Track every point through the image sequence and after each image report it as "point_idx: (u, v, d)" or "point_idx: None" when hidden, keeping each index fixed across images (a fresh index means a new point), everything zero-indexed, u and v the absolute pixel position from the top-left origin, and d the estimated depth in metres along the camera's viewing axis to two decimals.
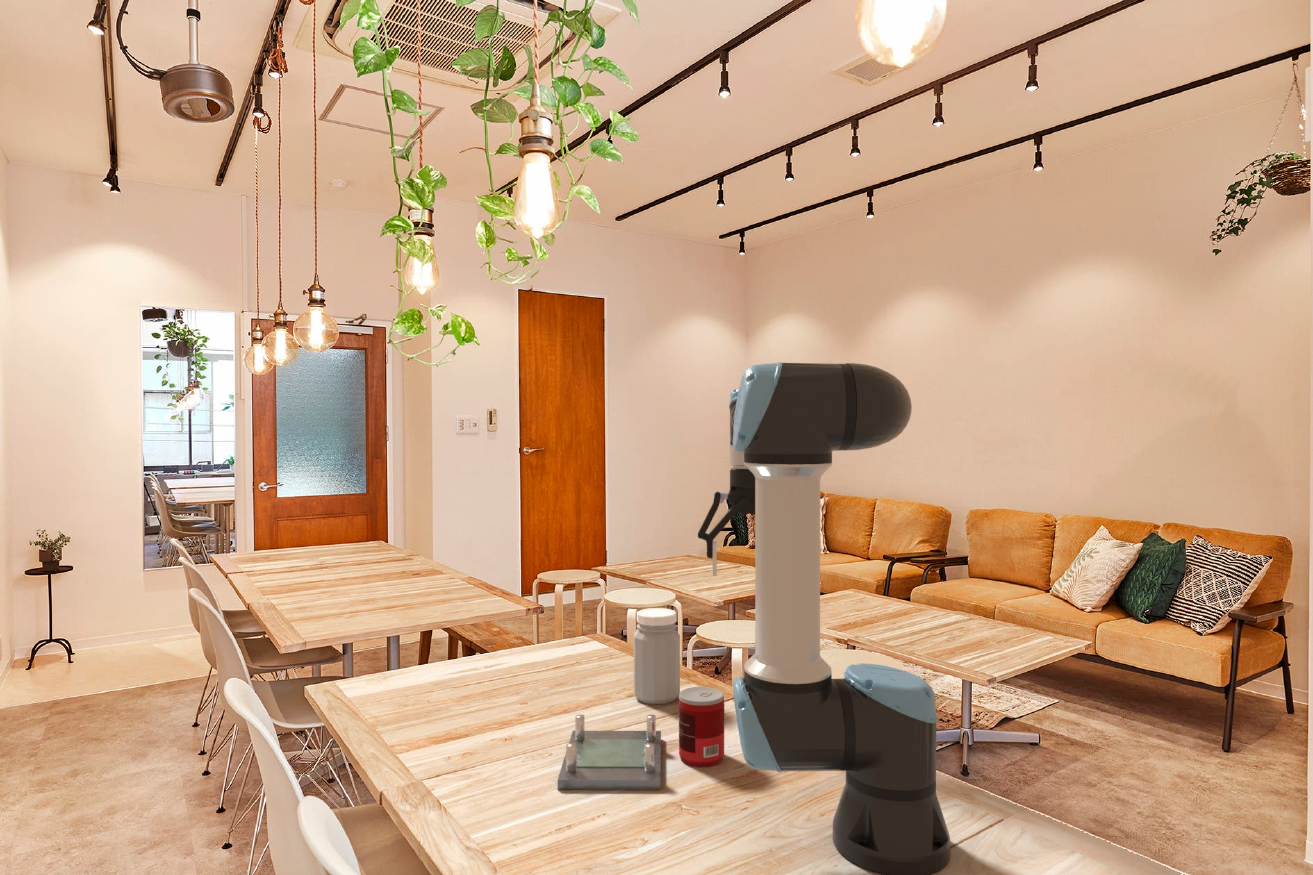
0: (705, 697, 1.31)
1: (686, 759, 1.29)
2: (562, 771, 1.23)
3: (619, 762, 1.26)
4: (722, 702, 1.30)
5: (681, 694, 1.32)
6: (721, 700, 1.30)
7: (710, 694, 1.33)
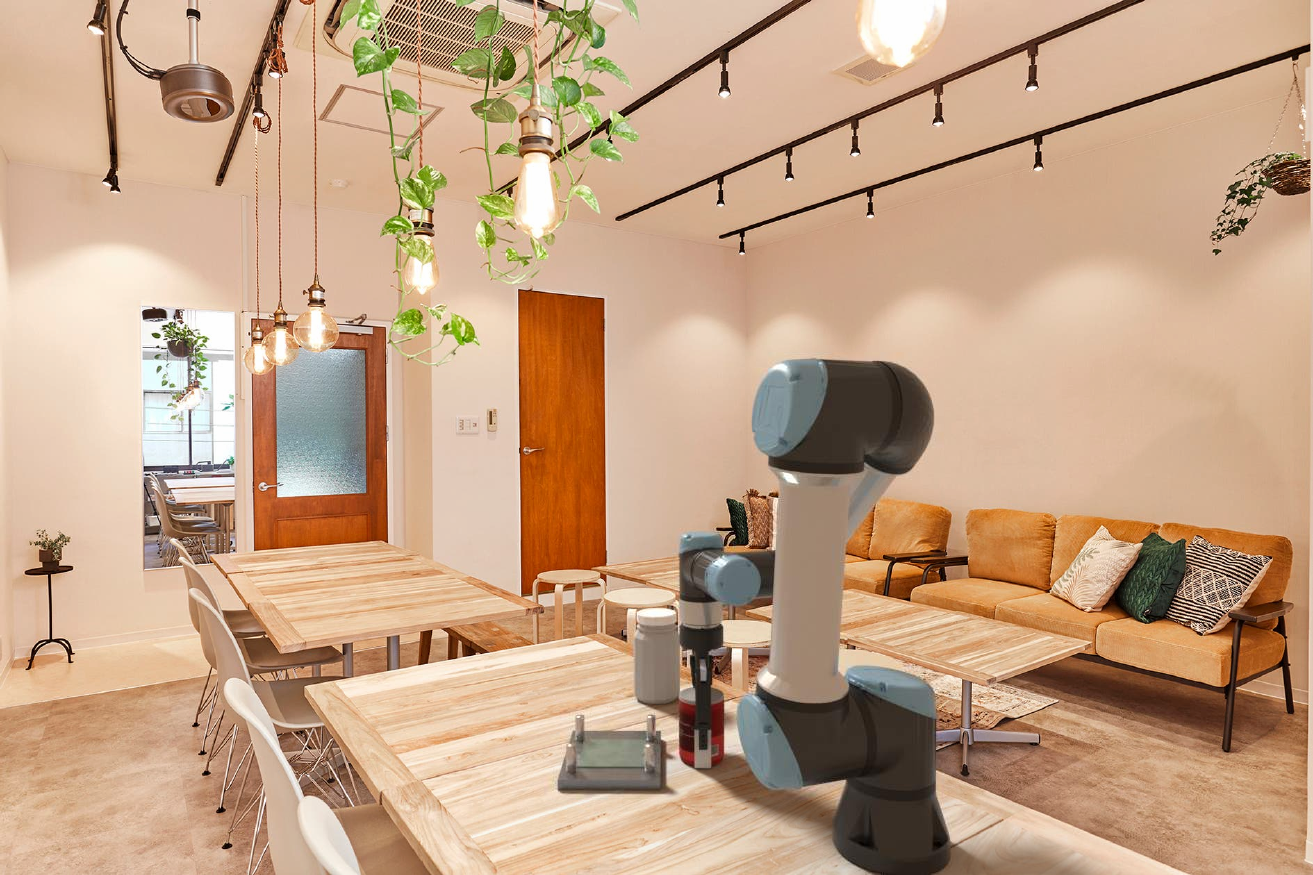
0: None
1: (686, 759, 1.29)
2: (562, 771, 1.23)
3: (619, 762, 1.26)
4: (722, 702, 1.30)
5: (681, 694, 1.32)
6: (721, 699, 1.30)
7: None
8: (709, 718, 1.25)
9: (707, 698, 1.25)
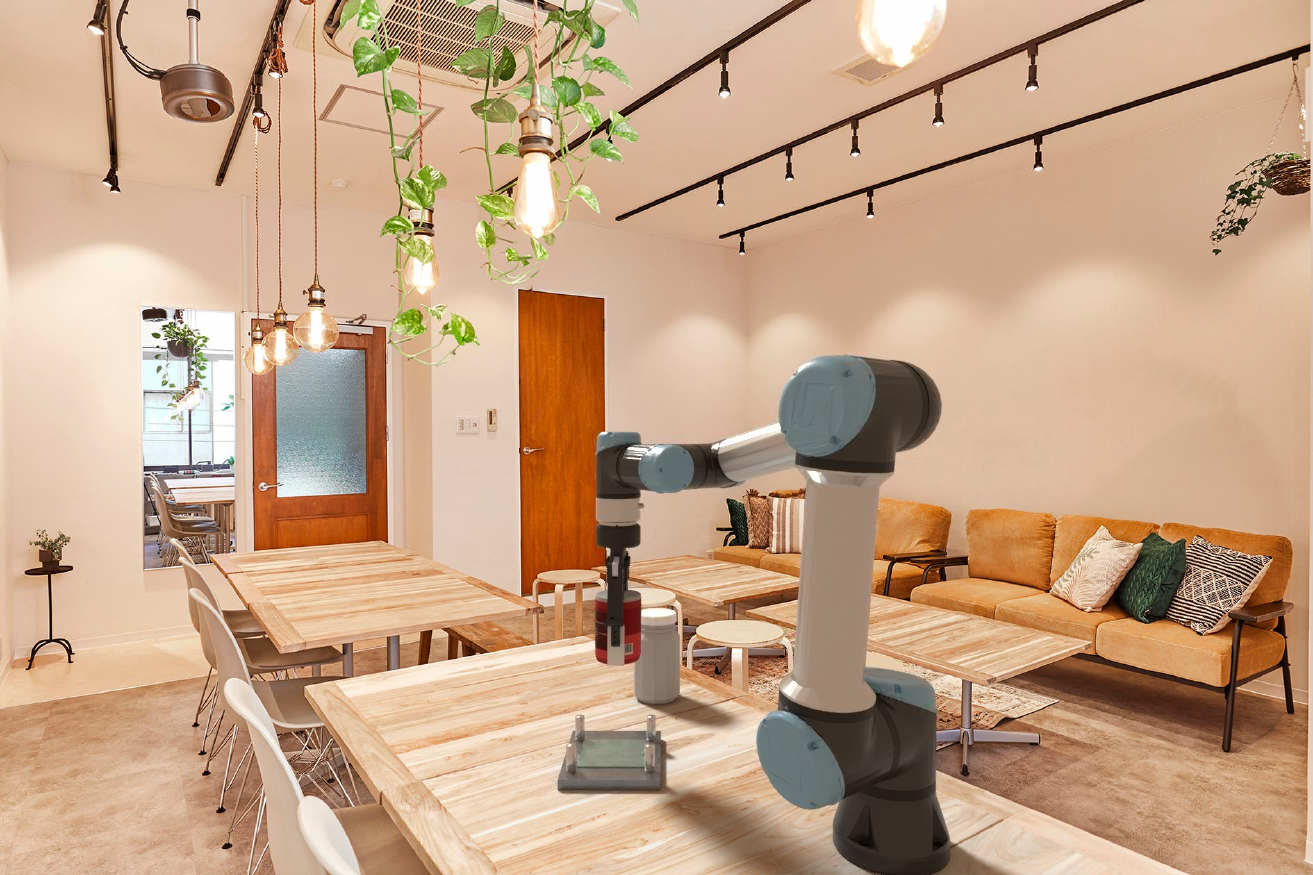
0: None
1: (600, 657, 1.28)
2: (562, 771, 1.23)
3: (619, 762, 1.26)
4: (638, 601, 1.29)
5: (597, 594, 1.30)
6: (636, 599, 1.29)
7: (627, 594, 1.31)
8: (620, 613, 1.23)
9: (618, 593, 1.24)
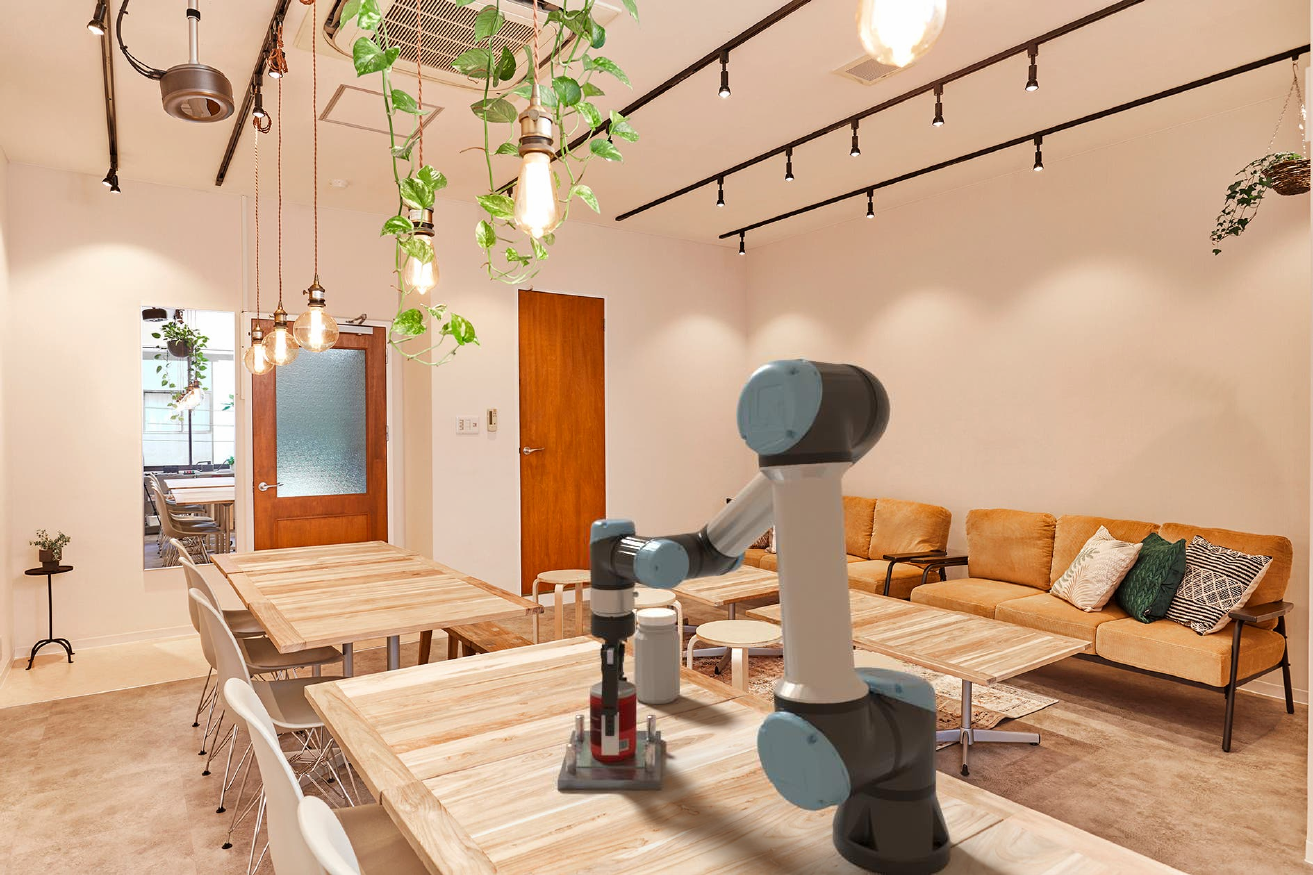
0: None
1: (595, 753, 1.27)
2: (562, 771, 1.23)
3: (619, 762, 1.26)
4: (633, 696, 1.29)
5: (592, 688, 1.30)
6: (632, 693, 1.28)
7: (622, 687, 1.31)
8: (614, 702, 1.21)
9: (613, 681, 1.22)
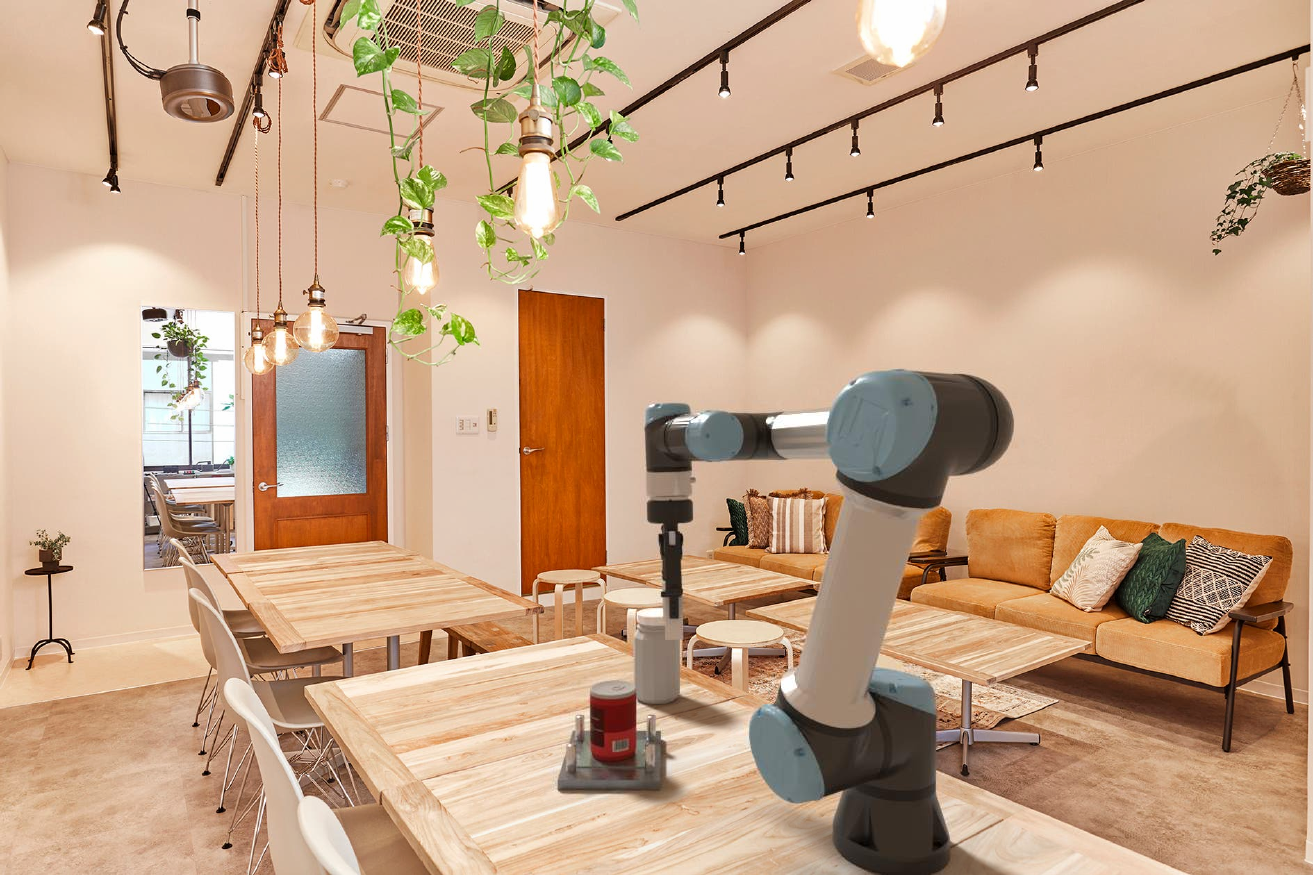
0: (616, 691, 1.29)
1: (595, 753, 1.27)
2: (562, 771, 1.23)
3: (619, 762, 1.26)
4: (633, 696, 1.29)
5: (592, 688, 1.30)
6: (632, 693, 1.28)
7: (622, 687, 1.31)
8: (679, 581, 1.16)
9: (677, 561, 1.18)
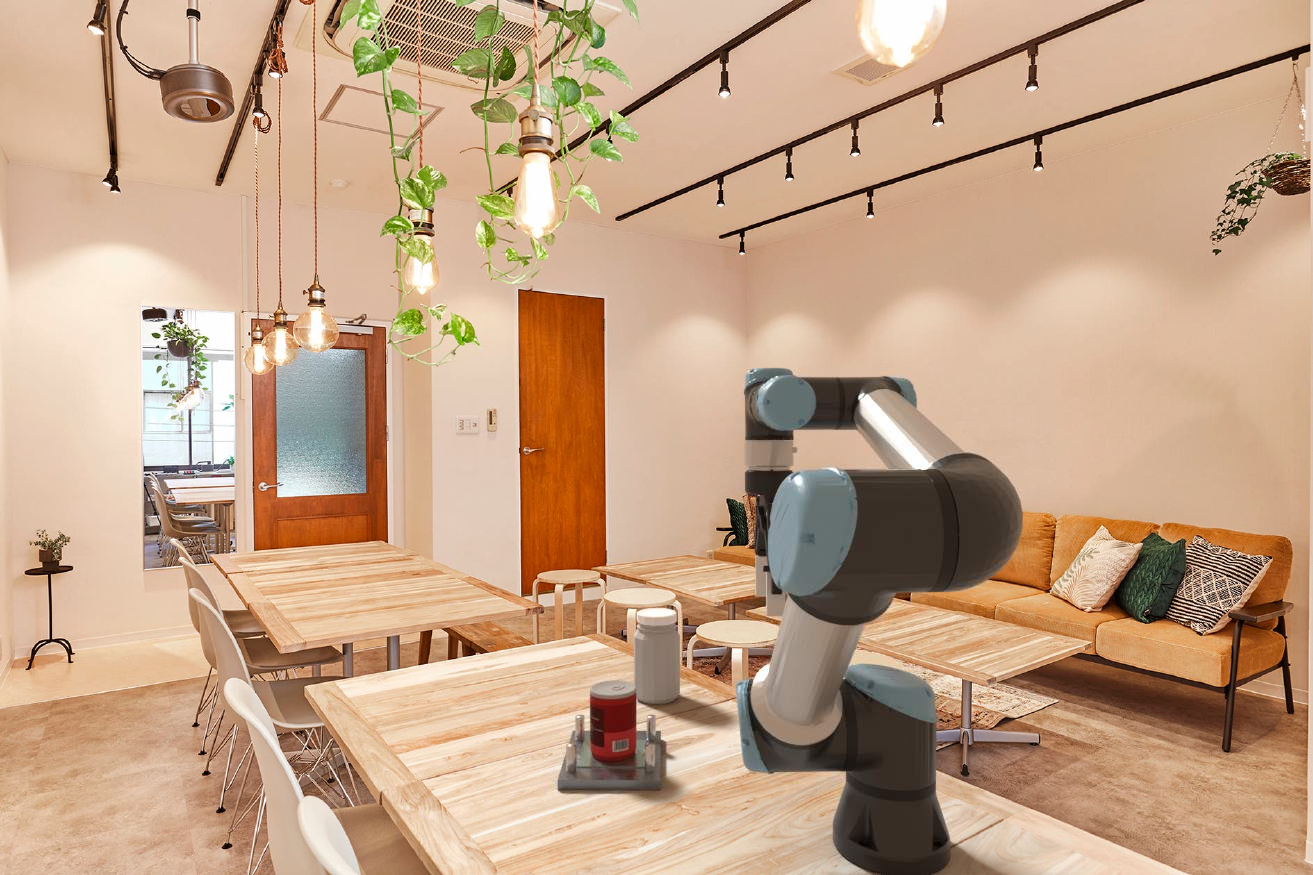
0: (616, 691, 1.29)
1: (595, 753, 1.27)
2: (562, 771, 1.23)
3: (619, 762, 1.26)
4: (633, 696, 1.29)
5: (592, 688, 1.30)
6: (632, 693, 1.28)
7: (622, 687, 1.31)
8: None
9: None
